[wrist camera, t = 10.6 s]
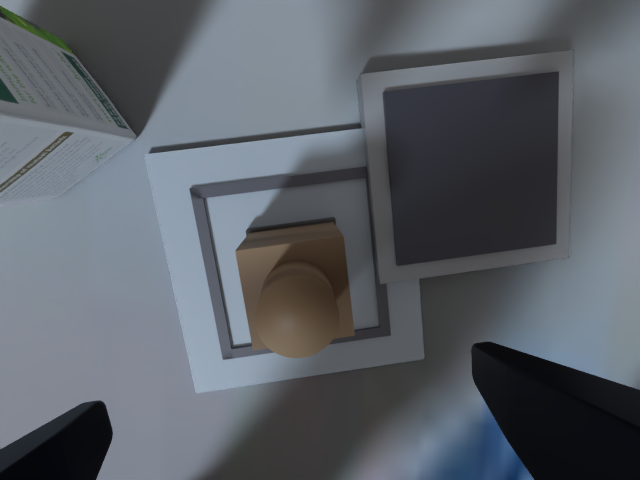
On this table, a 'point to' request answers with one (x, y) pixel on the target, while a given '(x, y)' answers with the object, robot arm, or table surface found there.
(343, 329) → the stamp
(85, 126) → the syrup box
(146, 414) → the table surface
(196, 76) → the table surface
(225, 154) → the board
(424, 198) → the ink pad
